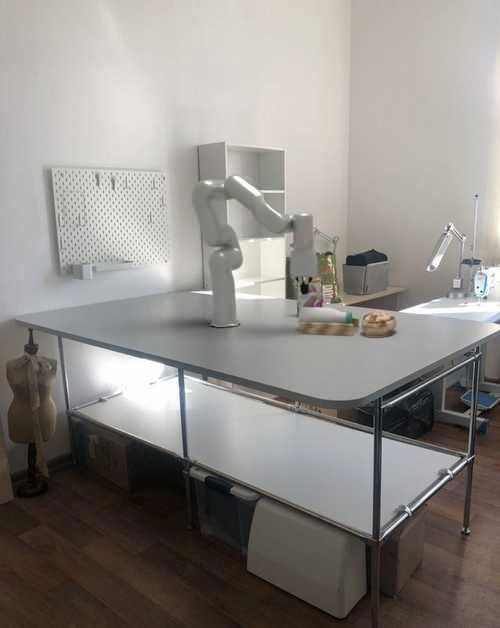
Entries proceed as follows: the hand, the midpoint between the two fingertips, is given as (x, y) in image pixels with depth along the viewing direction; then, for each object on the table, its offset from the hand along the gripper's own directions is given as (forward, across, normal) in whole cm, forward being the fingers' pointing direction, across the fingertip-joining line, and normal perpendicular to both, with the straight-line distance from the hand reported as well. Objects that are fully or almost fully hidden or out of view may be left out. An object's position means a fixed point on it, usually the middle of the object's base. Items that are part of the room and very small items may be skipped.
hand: (304, 294), depth 207 cm
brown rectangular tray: (+14, +10, 0) cm, 17 cm away
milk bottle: (+9, -3, +1) cm, 10 cm away
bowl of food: (+14, +28, -1) cm, 32 cm away
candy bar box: (+14, -6, +29) cm, 33 cm away
